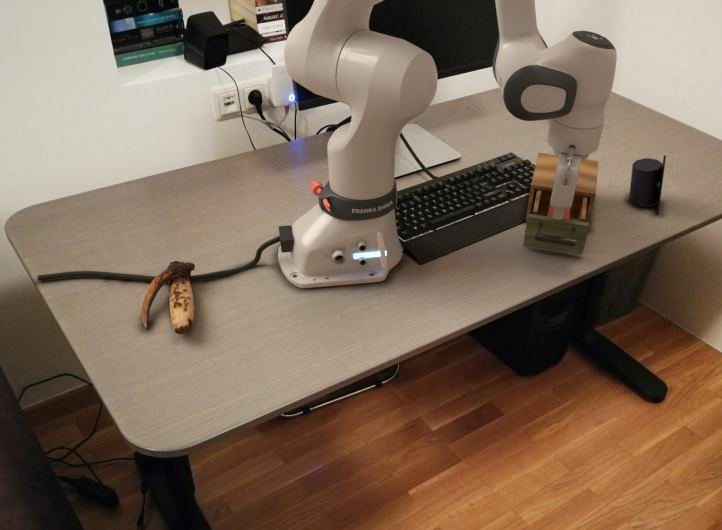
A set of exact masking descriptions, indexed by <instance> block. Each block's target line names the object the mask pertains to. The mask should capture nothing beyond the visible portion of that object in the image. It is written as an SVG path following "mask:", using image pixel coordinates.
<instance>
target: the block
mask: <svg viewBox="0 0 722 530" xmlns="http://www.w3.org/2000/svg"><path fill="white" fill-rule="evenodd" d="M570 211H571V209H569V210H565V211H564V215H563V219H568V220H569V218H570ZM553 212H554V208H553V207H551V206H549V210H548V215H547V216H548V217H553Z"/></svg>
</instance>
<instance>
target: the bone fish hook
mask: <svg viewBox="0 0 722 530" xmlns="http://www.w3.org/2000/svg"><path fill="white" fill-rule="evenodd" d="M195 268H196V265H195V263H193V262H189V261H187V262H184V261H178V260H175V261H174V260H173V261H170V262H169V265H168V266H167V268H166V269H164V270H163V271H162V272H160V273H159V274H158V275H157V277H156V278H155V279H154V280H153V281H150V283H149V284H148V286H147V288H146V291H145V292H144V294H143V298H142V301H141V303H140V304H141V305H140V319H141V322H142V324H143V326H144V329H145V330H148V329H149V323H150V311H151V307H152V305H153V303H154V301H155V299H156V296H157V295H158V293H159V292H160V290H161V289H162V288H163V286H164V285H166V284H167V283H168V293H169V295H168V301H169V305H168V309H169V312H170V320H171V323H172V327H173V329H174V333H175V334H177V335H179V336H180V335H185V334H186V333H188V332H189V330H190V328H191V327H192V325H193V324H194V319H195V318H194V315H195V309H194V308H195V306H194V304H195V303H194V302H195V300H194V299H195V298H194V293H193V288H192V285H191V281H190V280H189V277H190V276H192V274H191V273H192V271H195Z"/></svg>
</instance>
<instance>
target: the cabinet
mask: <svg viewBox="0 0 722 530" xmlns="http://www.w3.org/2000/svg"><path fill="white" fill-rule="evenodd" d="M558 158H559V157H557V156H556V155H555V154H552V153H544V152H538V153H537V156H536V161H535V167H534V170H533V171H534V172H533V175H532V179H531V184H530V189H529V196H528V201H527V208H526V214H525V220H524V221H525V222H527V218H528V214H533V209H534V204H535V199H536V194H537V189H540V190H547V191H552V190H553V185H554V179H555V174H556V169H557V164H558ZM598 170H599V160H595V159H589V158H586V159H584V160H581V161H580V168H579V174H578V179H577V184H576V189H575V193H574V194H575V195H582V196H588V198H587V209H586V219H585V222H588V223H589V224H590V220H591V215H592V211H593V207H594V203H595V199H596V194H597V185H598V184H597V182H598Z"/></svg>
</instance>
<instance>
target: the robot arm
mask: <svg viewBox="0 0 722 530" xmlns="http://www.w3.org/2000/svg"><path fill="white" fill-rule="evenodd" d="M383 1H384V0H314V1H313V3H312V5H311V7H310V9H309V11H308V12H307V14H306V15H305V16H304V17H303V19H302V20H300V21H299V22H298V23H296V24H295V25H294V27H292V29H291V30H290V32H289V34H287V35H288V36H287V38H286V39H285V45H284V50H283V51H284V52H283V61H284V66H285V69H286V72H287V74H288V76H289V77H290V78H291V80H293V81H294V82H296V83H297V84H299V85H300V86H301V87H302V88H305V89H307V90H308V91H310V92H312V93H313V94H315V95H318V96H321V97H324V98H327V99H330V100H333V101H336V102H339V103H342V104H345V105H347V106H348V107H349V109H350V113H351V119H350V122H347V123H344V124H342V125H341V126H339V127H338V128H337V129H335V130H334V131H333V133H332V134H331V135H330V137H329V139H328V141H327V145H326V150H327V151H326V152H327V168H328V171H327V172H328V180H327V182H326V184H325V185H324V186H323V184H322V182H321V181H319V180H313V181H311V183H310V186H309V188H310V190H311V191H312V193H313V195H314V196H318V203H316V204H315V205H314V206H312V208H310V209H309V210H307V211H306V212H305V213H304V214H302V215H301V216H300V217H299V218H298V219H296V220H295V221H294V222H293V223H292V225H291V224H289V225H279V226H278V234H279V235H278V236H275V237H274V238H271V239H269V240H267V241H265V242H264V243H262V244H261V245H260V246H259V247H258V248H257V249H256V252H255V256H254V258H253V259H252V260H251V261H250V262H248V263H246V264H245V265H243V266H239V267H236V268H232V269H225V270H224V269H223V270H219V271H218V270H217V271H213V272H208V273H202V274H194V275H191V276H190V277H189V280H190V282H195V281H203V280H208V279H214V278H219V277H225V276H231V275H235V274H238V273H240V272H241V273H242V272H244V271H247V270H249V269H251V268H253V267H254V266H256V265H257V264H258V263H259V262H260V260H261V257H262V253H263V252H264V251H265V250H266V249H268V248H269V247H271V246H273V245H275V244H277V243H279V244H280V245H279V248H278V250H277V251H278V252H277V259H278V265H279V268H280V270H281V272H282V274H283V275H284V277H285V278H286V280H288V281H289V282H290V283H291V284H292V285H293V286H296V287H298V288H299V289H312V288H323V287H334V286H337V287H338V286H347V285H357V284H358V285H359V284H370V283H380V282H383V281H385V280H386V279H387V277H388V274H389V272H390V271H391V270H392V269H393V268H394V267H395V266H397V265H398V264H399V263H400V261H401V259H402V257H403V248H402V247H403V246H402V245H401V242H400V237H399V234H398V230H397V229H398V228H397V220H396V212H397V209H398V208H397V207H398V205H397V204H398V186H397V181H396V180H395V173H396V172H395V169H396V168H395V167H396V153H397V146H398V145H397V144H398V140H399V137H400V135H401V133H402V131H403V130H404V128H405V127H406V126H407V125H408V124H409V123H410V122H411V121H413V120H415V119H417V118H419V117H420V116H421V115H422V114H424V113H425V112H426V111H427V110H428V108H429V107H430V105H431V104H432V102H433V101H434V99H435V96H436V93H437V91H438V89H437V88H438V84H439V83H438V82H439V81H438V80H439V79H438V78H439V75H438V69H437V65H436V63H435V60H434V58H433V56H432V55H431V54H430V53H429V52H427V51H426V50H424V49H422V48H420V47H419V46H417V45H415V44H413V43H412V42H410V41H407V40H405V39H404V38H400V37H396V36H391V35H388V34H384V33H380V32H377V31H373V30H371V29H370V18H371V13H372V10H373V8H374V6H375V5H377V4H380V3H381V2H383ZM494 6H495V14H496V21H497V30H498V36H497V43H496V46H495V50H494V54H493V58H492V73H493V77H494V79H495V81H496V83H497V85H498V88H499V92H500V95H501V97H502V101H503V103H504V106H505V108H506V110H507V111H508V113H510V114H511V115H512V116H513V117H515V118H516V119H518V120H521V121H525V122H537V121H545V120H546V121H547V120H550V121H549V125H548V131H547V138H546V143H547V145H548V146H549V147H551V148H552V150H551V151H552V153H553V155H556V156H557V157H559V158H558V164H557V169H556V174H555V179H554V185H553V190H552V195H551V200H550V206H551V207H553V208H554V212H553V218H554V219H557V220H562V219H563V215H564V211H565V210H569V209H570V208H571V206H572V203H573V198H574V193H575V189H576V184H577V179H578V174H579V168H580V161H581V160H584V159H588V158H589V156H590V154H593V153H595V152H597V150H598V149H599V146H600V143H601V138H602V133H603V129H604V125H605V122H606V121H605V120H606V106H607V103H608V102H609V101H610V98H611V95H612V92H613V86H614V83H615V82H614V81H615V77H616V76H615V75H616V69H617V60H618V53H617V49H616V47H615V46H614V44H613V43H612V42H611V41H610V40H609V39H608V38H607V37H605V36H603V35H602V34H599V33H596V32H593V31H590V30H589V31H588V30H574V31H572V32H571V33H570V35H568V36H567V37H566V38H564V39H563V40H560V41H559V42H558V43H556V44H553V45H551V46H548V45H547V43H546V41H545V39H544V38H543V36H542V34H541V33H540V32H539V28H538V24H537V23H538V22H537V13H536V11H537V10H536V1H535V0H494ZM157 276H158V275H157ZM157 276H154V275H144V274H135V273H134V274H133V273H122V272H121V273H120V272H111V271H110V272H109V271H99V270H74V271H73V270H72V271H64V272H54V273H46V274H38V275H37V280H38V281H39V282H40V281H49V280H56V279H64V278H75V277H76V278H77V277H97V278H98V277H100V278H110V279H120V280H134V281H143V282H152V281H153V280H154V279H155V278H156V277H157Z"/></svg>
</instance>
